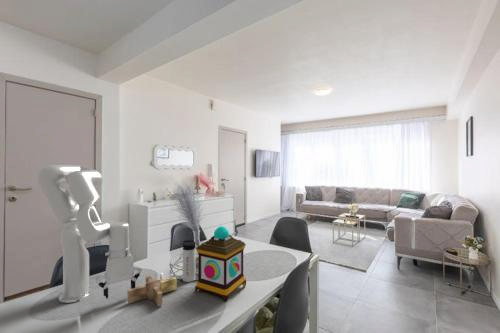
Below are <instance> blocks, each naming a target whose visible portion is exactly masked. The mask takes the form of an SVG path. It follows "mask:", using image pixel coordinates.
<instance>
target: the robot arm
mask: <svg viewBox="0 0 500 333" xmlns="http://www.w3.org/2000/svg"><path fill="white" fill-rule="evenodd" d="M61 184H67V186H68V188H69V190H70V191H69V190H68V189H67V188H66V187H64V186H63V185H61ZM102 184H103V176H102V174H101V172H99V171H98V170H96V169H94V168H90V167H86V166H84V165H81V164H80V165H79V164H51V165H49V164H48V165H46V166H43V167H42V168H41V169H39V171H38V174H37V185H38V188H39V189H40V190H41V192H42V193H43V195H44V196H45V198H46V199H47V202H48V204H49V206H50V209H51V211H52V213H53V215H54V217H55V220H56V222H57V223H58V224H60V225H63V226H65V225H69V226H67V227H65V228H64V229H62V231H61V233H60V234H59V240H60V245H61V249H62V293H61V294H60V295H59V296H58V302H60V303H64V304H70V303H76V302H77V303H78V302H80V300H81V299H84V298H86V297H88V296H89V295H90V289H91V288H92V286H90V252H89V250H88V249H87V247H86V246H85V245H86V244H96V243H100V242H102V241H105V240H108V239H109V240H108V241H109V242H108V244H109V245H108V246H109V248H108V249H109V250H108V251H107V252H105V257H107V256H108V257H107V261H106V265H105V266H106V267H105V272H103V273H102V274H100V275H99V276H97V277H96V278H95V282H96V284H97V285H98V286H99V287H100V288H102V289H103V297H105V299H108V298H109V286H110V285H111V284H116V283H121V282H125V281H128V280H130V289H133V288H136V281H137V280H138V278H139V277H140V275H141V274H142V270H143V269H142V267H139V266H135V265H134V259H133V254H132V253H131V252H130V246H131V244H130V241H131V239H130V236H131V235H130V224H129V223H128V222H124V221H121V222H120V221H116V220H113V219H111V220H106V221H102V219H101V218H100V216H99V214H98V211H97V209H96V205H97V204H99V202H100V201H101V196H100V195H99V193H98V190H97V189H96V188H98V187H99V188H100V187H101V185H102ZM72 195H73V196H72ZM73 197H74V198H73ZM74 199H75V200H74ZM74 223H75V224H74ZM70 224H71V225H70ZM135 271H136V273H135ZM104 278H105V281H104V282H102V280H103V279H104Z"/></svg>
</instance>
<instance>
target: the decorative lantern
mask: <svg viewBox="0 0 500 333" xmlns="http://www.w3.org/2000/svg"><path fill="white" fill-rule="evenodd" d="M245 247H246V243H245V242H244V241H242V240H241V239H236V238H234V237H233V235H231V234H230V232H229V229H228V228H227V227H225V226H223V225H220V226H218V227H217V228H216V229H215V230H214V233H213V236H211V237H210V238H209V239H208V240H206V241H204V242H201V243H200V245H198V246H197V247H196V253H197V255H198V256H197V257H198V260H197V261H198V264H197V265H198V266H197V267H198V268H197V269H198V273H197V274H198V280H197V281H196V284H195V286H194V291H195V292H199V291H200V290H202V291H204V292H208V293H212V294H214V295H218V296H221V297H223V300H224V302H228V301H229V300H228V299H229V296H230V295H231V294H232V293H234V292H235V291H236V290H237V289H238V288H239V287H241V286H242V287H246V286H247V279H246V277H245V274H244V249H245Z"/></svg>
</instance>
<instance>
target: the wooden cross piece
mask: <svg viewBox="0 0 500 333" xmlns="http://www.w3.org/2000/svg"><path fill="white" fill-rule="evenodd" d="M177 280H178V279H177V277H176V276H175V277H174V278H170V277H169V278H168V279H163V281H160V279H153V278H152V276H151V275H150V274H148V275H147V274H146V275H145V285H140V286H135V288H133V289H131V288H129V289H127V303H128V304H133V303H135V302H139V301H143V300H145V299H146V300H147V301H154V302H155V304H156V306H157V307H161V306H163V294H165V293H169V292H172V291H175V290H176V291H177V289H178V288H177V287H178V285H177V283H178V282H177Z"/></svg>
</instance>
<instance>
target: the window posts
mask: <svg viewBox="0 0 500 333" xmlns="http://www.w3.org/2000/svg"><path fill="white" fill-rule="evenodd" d="M174 276H175V275H174V273H170V274H169V279H170V278H174ZM159 280H160V281H163V280H164V273H163V272H160V273H159Z"/></svg>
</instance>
